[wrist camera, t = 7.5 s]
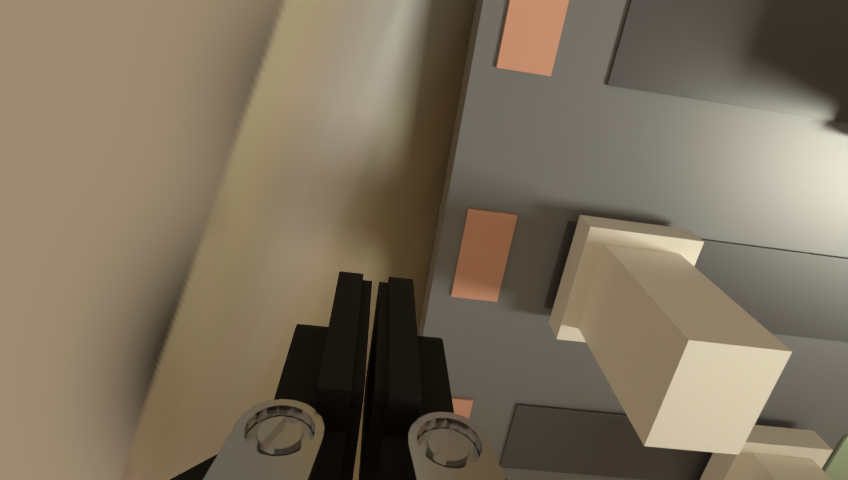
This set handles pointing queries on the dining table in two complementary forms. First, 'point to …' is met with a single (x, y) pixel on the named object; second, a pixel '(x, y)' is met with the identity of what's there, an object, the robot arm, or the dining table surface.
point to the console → (641, 208)
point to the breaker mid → (666, 335)
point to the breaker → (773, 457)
